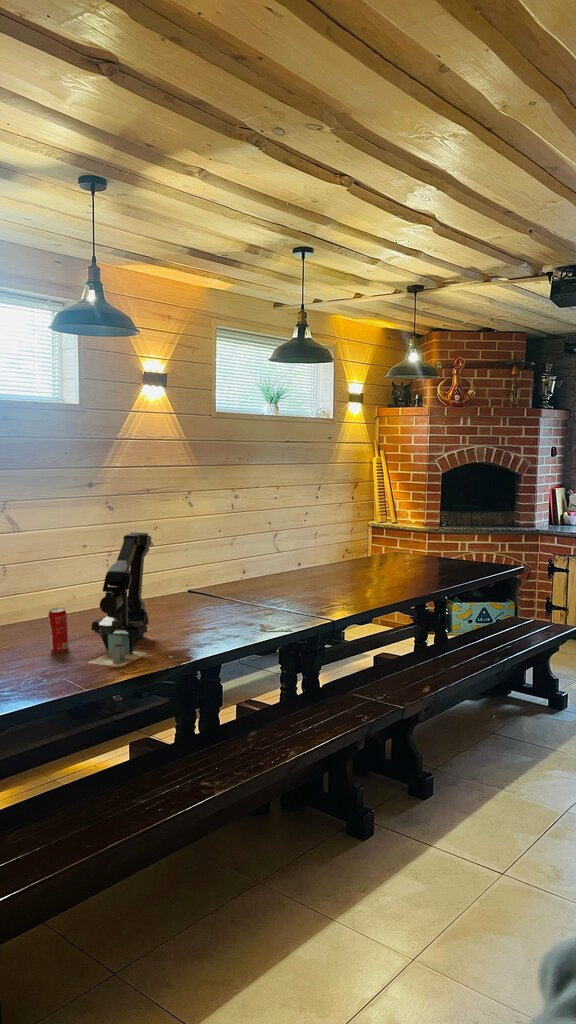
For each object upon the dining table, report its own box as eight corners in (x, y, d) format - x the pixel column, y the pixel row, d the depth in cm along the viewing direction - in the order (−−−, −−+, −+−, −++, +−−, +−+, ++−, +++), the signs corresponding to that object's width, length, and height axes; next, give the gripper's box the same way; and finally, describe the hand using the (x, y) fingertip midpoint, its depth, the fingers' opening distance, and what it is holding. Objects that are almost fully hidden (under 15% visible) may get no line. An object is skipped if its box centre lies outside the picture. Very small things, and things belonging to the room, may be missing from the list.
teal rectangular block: (117, 649, 243) (117, 630, 242) (130, 651, 241) (130, 632, 240) (108, 653, 238) (108, 634, 237) (121, 655, 236) (121, 636, 236)
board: (117, 651, 244) (117, 649, 243) (147, 656, 239) (147, 653, 239) (87, 665, 229) (87, 662, 229) (119, 670, 224) (119, 667, 224)
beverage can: (70, 649, 246) (69, 606, 245) (65, 655, 240) (64, 611, 238) (53, 649, 246) (51, 606, 244) (47, 655, 239) (46, 611, 238)
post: (117, 660, 231) (117, 644, 230) (124, 661, 230) (124, 645, 229) (113, 663, 228) (112, 646, 228) (119, 664, 227) (119, 647, 227)
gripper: (80, 609, 234) (81, 655, 236) (128, 614, 227) (129, 662, 229) (101, 601, 244) (101, 646, 246) (147, 607, 237) (148, 652, 239)
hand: (119, 651), depth 240 cm, fingers open, 9 cm apart
